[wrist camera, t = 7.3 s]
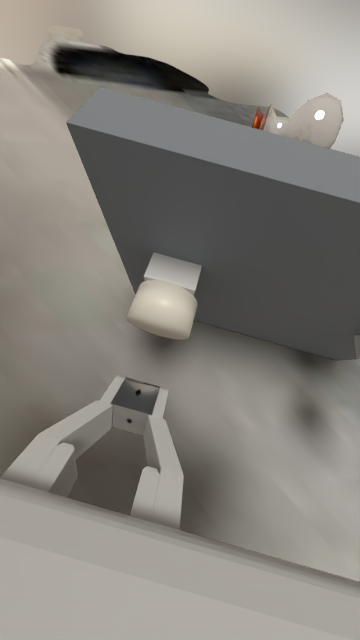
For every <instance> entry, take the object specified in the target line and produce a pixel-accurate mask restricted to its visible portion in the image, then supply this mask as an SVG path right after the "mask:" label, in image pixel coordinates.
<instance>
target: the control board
mask: <svg viewBox="0 0 360 640" xmlns="http://www.w3.org/2000/svg"><path fill="white" fill-rule="evenodd" d="M66 123H67V126H68V128H69V131H70V133H71V136H72V138H73V141H74V143H75V146H76V148H77V151H78V153H79V156H80V158H81V161H82V163H83V166H84V168H85V170H86V173H87V175H88V178H89V180H90V183H91V185H92V188H93V190H94V193H95V195H96V198H97V200H98V203H99V205H100V208H101V210H102V213H103V215H104V218H105V220H106V223H107V225H108V227H109V230H110V232H111V235H112V237H113V240H114V242H115V245H116V247H117V250H118V252H119V255H120V257H121V260H122V262H123V265H124V267H125V270H126V272H127V275H128V277H129V280H130V282H131V284H132V287H133V289H134V292H135V294H136V293H137V290H138V288H139V286H140V284H141V283H142V282H144V281H148V280H160V281H166V282H169V283H173V284H175V285H178V286H180V287H182V288H184V289H185V290H187V291H188V292H190V293H191V294H192V295H193V296H194V297H195V298H196V300H197V303H198V305H197V309H196V313H195V317H194V321H198V322H202V323H205V324H209V325H212V326H216V327H219V328H223V329H226V330H230V331H233V332H237V333H241V334H244V335H248V336H251V337H255V338H258V339H262V340H265V341H269V342H272V343H276V344H279V345H283V346H287V347H290V348H294V349H297V350H301V351H304V352H308V353H311V354H315V355H318V356H322V357H326V358H329V359H333V360H352V359H360V157H358V156H354V155H350V154H346V153H343V152H339V151H336V150H332V149H329V148H325V147H321V146H318V145H314V144H310V143H307V142H303V141H299V140H296V139H292V138H288V137H285V136H281V135H277V134H274V133H270V132H266V131H263V130H259V129H255V128H251V127H248V126H244V125H240V124H237V123H233V122H229V121H226V120H222V119H218V118H215V117H211V116H207V115H204V114H200V113H196V112H193V111H189V110H185V109H182V108H178V107H174V106H171V105H167V104H163V103H160V102H156V101H152V100H149V99H145V98H141V97H138V96H134V95H130V94H127V93H123V92H119V91H116V90H112V89H108V88H105V87H101V88H100V89H99V90H98V91H97V92H96V93H95V94H94V95H93V96H92V97H91V98H90V99H89V100H88V101H87V102H86V103H85V104H84V105H83V106H82V107H81V108H80V109H79V110H78V111H77V112H76V113H75V114H74V115H73V116H72V117H71V118H70V119H69V120H68V121H67V122H66Z"/></svg>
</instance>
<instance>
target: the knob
mask: <svg viewBox="0 0 360 640" xmlns="http://www.w3.org/2000/svg"><path fill="white" fill-rule="evenodd" d="M197 305H198V303H197V300H196V298H195V297H194V296H193V295H192V294H191V293H190V292H188V291H187V290H185V289H184V288H182V287H180V286H178V285H175V284H173V283H169V282H166V281H160V280H148V281H144V282H142V283H141V284H140V286H139V288H138V290H137V293H136V295H135V298H134V300H133V303H132V305H131V307H130V310H129V312H128V315H127V317H126V319H127V320H128V321H129V322H130V323H131V324H132V325H134V326H136V327H138V328H140V329H142V330H144V331H147V332H149V333H152V334H155V335H158V336H162V337H166V338H171V339H178V340H185V339H188V338H189V337H190V333H191V329H192V325H193V321H194V317H195V313H196V309H197Z"/></svg>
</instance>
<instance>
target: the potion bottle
mask: <svg viewBox="0 0 360 640" xmlns="http://www.w3.org/2000/svg"><path fill="white" fill-rule="evenodd" d="M342 123H343V113H342V106H341V101H340V100H338V99H337V98H335V97H333V96H332V95H330V94H328V93H326V94H324V95H321V96H318V97H316V98H313V99H311V100H308V101H307V102H306V103H305V104H304V105H303V106H302V107H301V108H300V109H298V110H297V111H296V112H295V113H294V114H293V115H292V116H291V117H290V118H287V117H277V116H276V114H275V112H274V109H273V107H272V105H270V106H269V108H268V109H267V110H266V112H265V113H264V115H263V114H262V113H261V112H260V109H259V107H258V110H257V113H256V116H255V119H254V123H253V126H252V128H255V129H259V130H263V131H266V132H270V133H274V134H277V135H281V136H285V137H288V138H292V139H296V140H299V141H303V142H307V143H310V144H314V145H318V146H321V147H325V148H329V149H330V148H331V146H332V145H333V144H334V142H335V140H336V137H337V135H338V132H339V130H340V127H341V125H342Z"/></svg>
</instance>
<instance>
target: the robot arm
mask: <svg viewBox="0 0 360 640" xmlns="http://www.w3.org/2000/svg"><path fill="white" fill-rule="evenodd" d="M168 393H169V389H166V388H162V387H160V386H156V385H152V384H148V383H144V382H139V381H136V380H133V379H130V378H126V377H123V376H119V375H117V376H116V377H115V378H114V380H113V381H112V383H111V384H110V385H109V387H108V388H107V390H106V391H105V393H104V394H103V396H102V397H101V399H100V400H99V401H97V400H96V401H94V402H92V403H91V404H89V405H87V406H86V407H84V408H82V409H80V410H79V411H77V412H75V413H73V414H72V415H70V416H68V417H67V418H65V419H63V420H61V421H60V422H58V423H56V424H55V425H53V426H51V427H49V428H48V429H46V430H44V431H42V432H41V433H39V434H38V435H37V436H36V437H35V438H34V439H33V441H32V442H31V443H30V444H29V445H28V446H27V447H26V448H25V450H24V451H23V452H22V453H21V454H20V455H19V456H18V458H17V459H16V460H15V461H14V462H13V463H12V464H11V466H10V467H9V468H8V469H7V470H6V471H5V472H4V473H3V475H2V476H1V477H0V640H360V582H359V581H355V580H352V579H348V578H345V577H341V576H338V575H334V574H331V573H327V572H324V571H320V570H317V569H313V568H310V567H306V566H303V565H300V564H296V563H293V562H289V561H286V560H282V559H279V558H275V557H272V556H268V555H265V554H261V553H258V552H254V551H251V550H247V549H244V548H240V547H237V546H233V545H230V544H227V543H223V542H220V541H216V540H213V539H209V538H206V537H202V536H199V535H195V534H192V533H188V532H185V531H181V530H180V517H181V504H182V491H183V479H184V475H183V472H182V469H181V466H180V463H179V459H178V456H177V453H176V450H175V447H174V444H173V441H172V438H171V435H170V432H169V429H168V426H167V423H166V420H165V419H163V415H164V411H165V407H166V402H167V398H168ZM111 427H112V428H116V429H120V430H124V431H128V432H131V433H135V434H138V435H141V436H144V437H143V438H144V445H145V451H146V458H147V464H148V466H146V467H145V468H144V469H143V470H142V474H141V477H140V481H139V484H138V488H137V491H136V495H135V498H134V502H133V506H132V509H131V513H130V516H129V515H126V514H122V513H119V512H115V511H112V510H108V509H105V508H101V507H98V506H94V505H91V504H87V503H84V502H81V501H77V500H74V499H70V498H67V497H68V495H69V493H70V491H71V489H72V487H73V485H74V483H75V482H76V480H77V478H78V474H77V466H76V459H77V458H78V457H79V456H80V455H82V454H83V453H84V452H85V451H86V450H87V449H88V448H90V447H91V446H92V445H93V444H94V443H95V442H97V441H98V440H99V439H100V438H101V437H102V436H103V435H105V434H106V433H107V432H108V431H109V430H110V429H111Z"/></svg>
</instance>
